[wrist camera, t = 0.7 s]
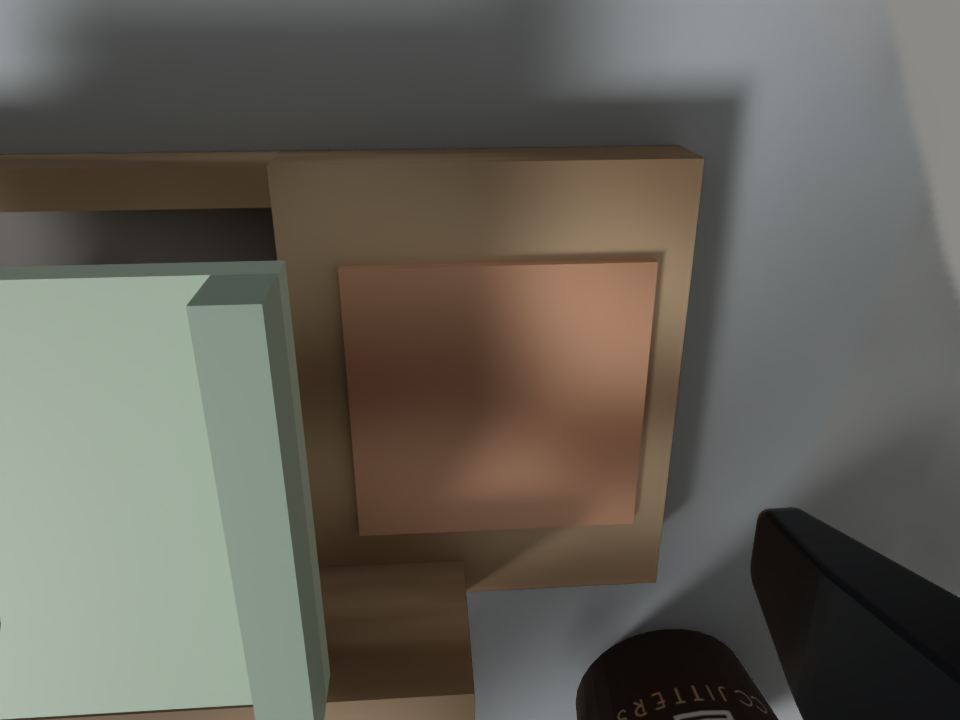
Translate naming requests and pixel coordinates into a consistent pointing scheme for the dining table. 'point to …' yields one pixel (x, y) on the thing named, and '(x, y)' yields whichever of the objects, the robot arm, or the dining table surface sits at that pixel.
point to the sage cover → (155, 494)
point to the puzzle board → (428, 366)
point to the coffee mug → (670, 681)
